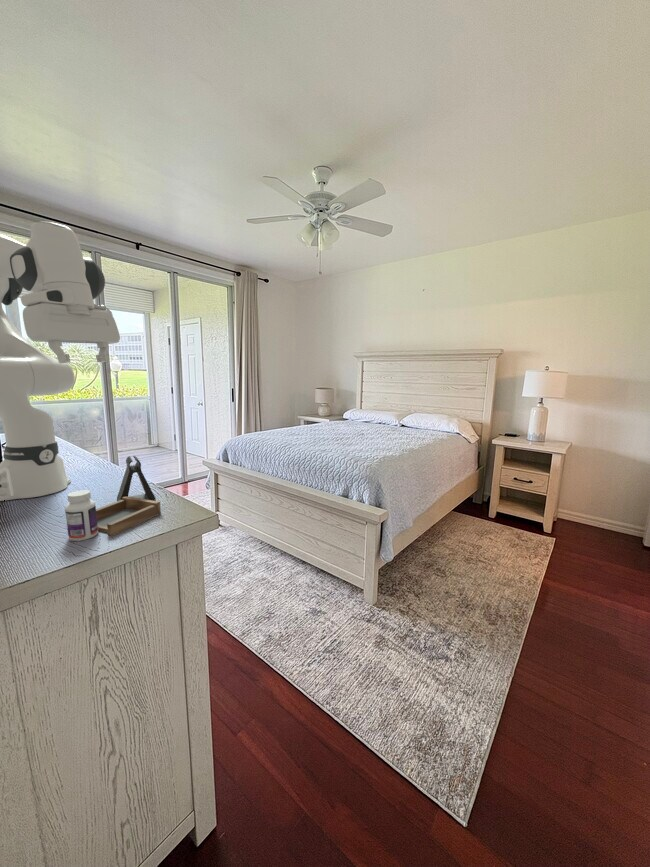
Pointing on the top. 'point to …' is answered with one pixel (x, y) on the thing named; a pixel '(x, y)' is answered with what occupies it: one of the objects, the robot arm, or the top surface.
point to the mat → (115, 516)
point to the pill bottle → (81, 516)
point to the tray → (144, 512)
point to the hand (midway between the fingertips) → (84, 362)
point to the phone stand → (128, 477)
